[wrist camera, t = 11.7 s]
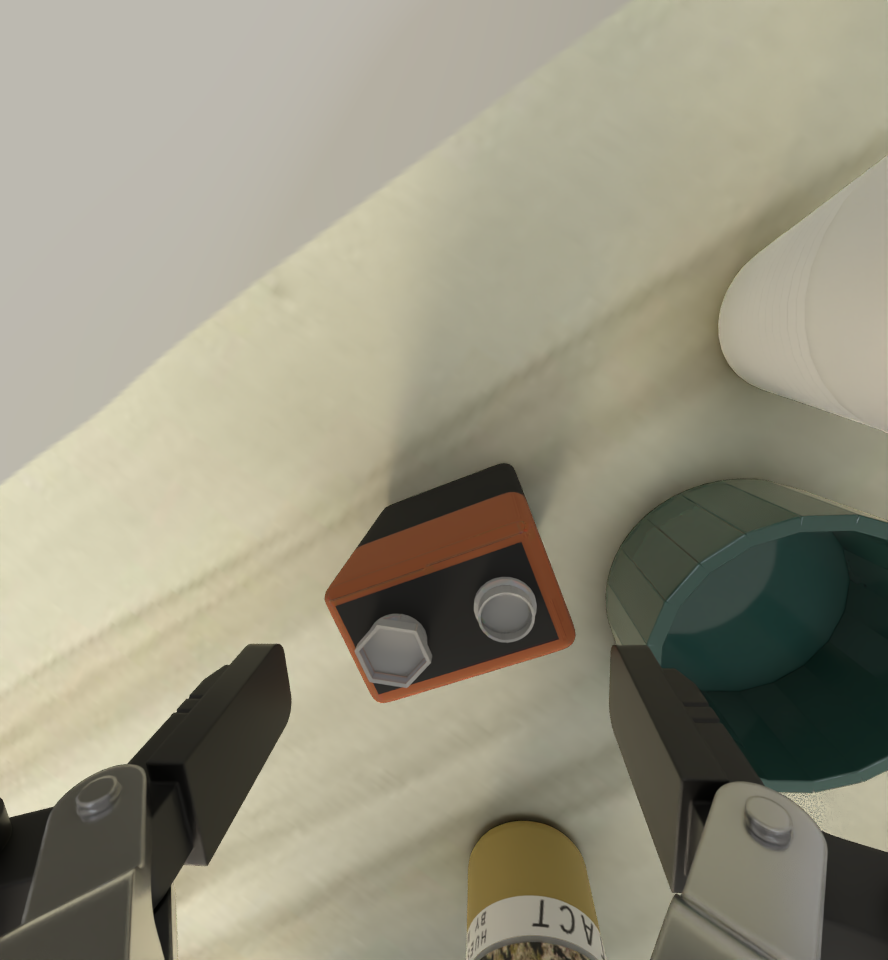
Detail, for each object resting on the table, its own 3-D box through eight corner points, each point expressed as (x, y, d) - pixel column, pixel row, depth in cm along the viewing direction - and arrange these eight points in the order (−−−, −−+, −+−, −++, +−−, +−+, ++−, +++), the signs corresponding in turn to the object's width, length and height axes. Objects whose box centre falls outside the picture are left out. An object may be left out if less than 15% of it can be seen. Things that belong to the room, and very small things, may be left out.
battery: (380, 506, 22) (303, 610, 12) (510, 457, 21) (537, 528, 11) (414, 582, 23) (367, 736, 13) (541, 539, 22) (590, 670, 12)
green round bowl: (608, 483, 21) (653, 520, 16) (874, 473, 20) (1019, 509, 15) (602, 695, 24) (638, 789, 18) (837, 697, 23) (948, 797, 17)
